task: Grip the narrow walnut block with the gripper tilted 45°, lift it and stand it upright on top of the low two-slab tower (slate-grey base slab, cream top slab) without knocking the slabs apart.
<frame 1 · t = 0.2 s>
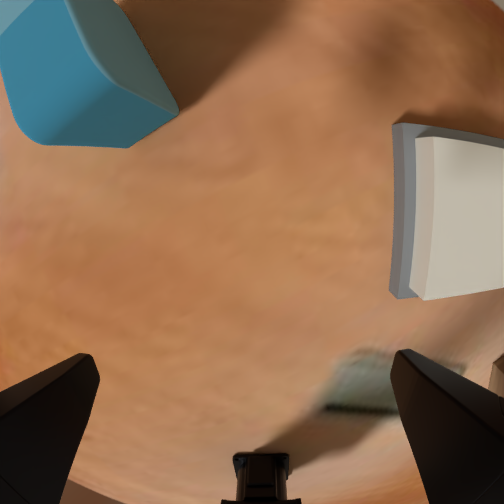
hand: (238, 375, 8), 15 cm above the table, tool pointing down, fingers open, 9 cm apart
tower top slab: (469, 215, 19), point 2 cm above the table
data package: (126, 73, 18), on the table
tower base slab: (453, 208, 21), on the table
walnut block: (503, 367, 26), on the table
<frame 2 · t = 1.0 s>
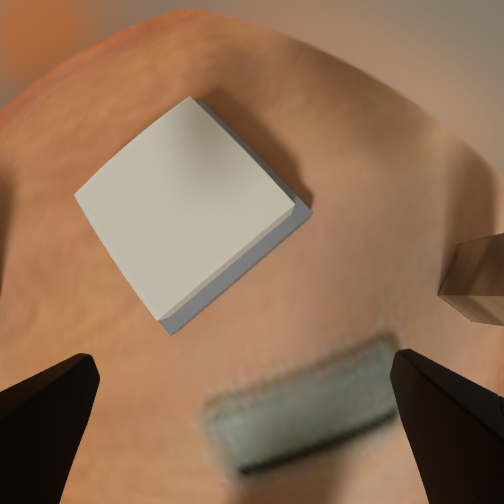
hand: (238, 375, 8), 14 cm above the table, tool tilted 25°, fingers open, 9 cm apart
tower top slab: (180, 206, 21), point 2 cm above the table, touching tower base slab
tower base slab: (189, 213, 23), on the table, touching tower top slab
walnut block: (466, 283, 21), on the table
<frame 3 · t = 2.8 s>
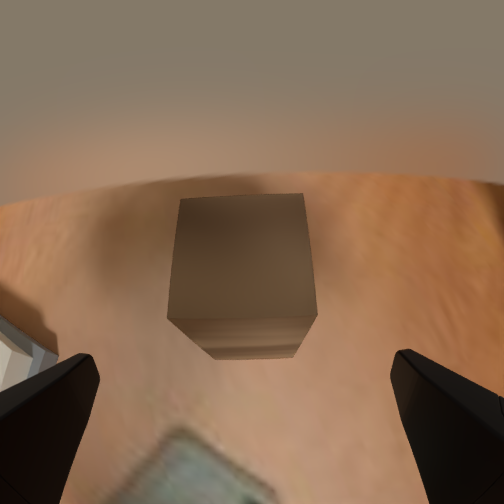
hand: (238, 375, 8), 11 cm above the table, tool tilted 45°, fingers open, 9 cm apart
tower base slab: (0, 388, 17), on the table, touching tower top slab
walnut block: (252, 322, 20), on the table
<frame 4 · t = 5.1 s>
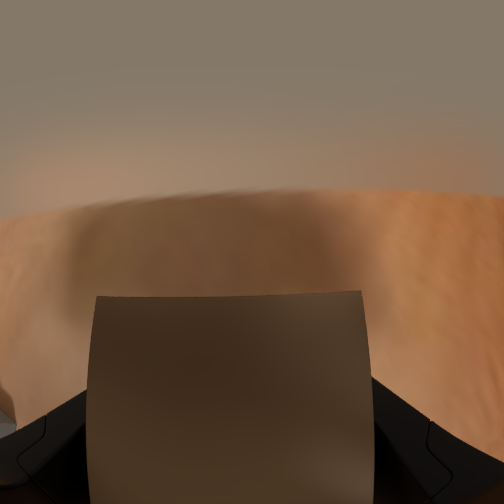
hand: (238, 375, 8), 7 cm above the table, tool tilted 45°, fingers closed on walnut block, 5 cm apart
walnut block: (251, 412, 13), on the table, touching gripper
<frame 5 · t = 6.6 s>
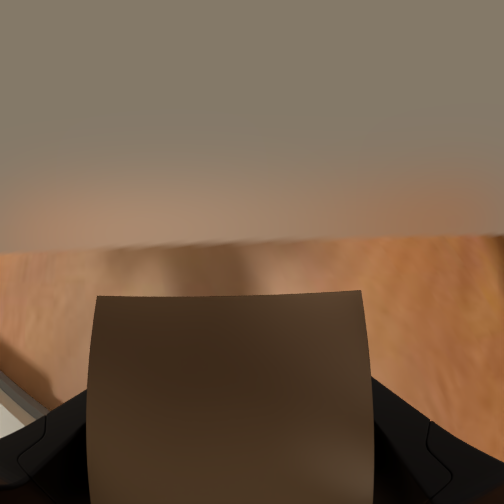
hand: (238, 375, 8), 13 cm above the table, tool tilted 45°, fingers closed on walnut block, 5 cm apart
tower base slab: (14, 444, 17), on the table, touching tower top slab
walnut block: (251, 412, 13), point 7 cm above the table, touching gripper
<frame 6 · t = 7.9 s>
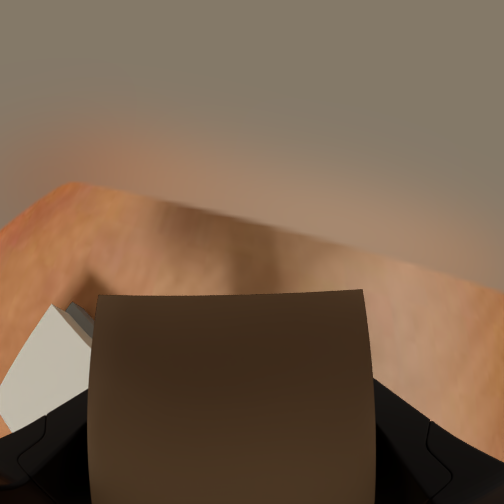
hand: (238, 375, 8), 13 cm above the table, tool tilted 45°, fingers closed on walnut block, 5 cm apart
tower top slab: (73, 408, 17), point 2 cm above the table, touching tower base slab
tower base slab: (91, 414, 19), on the table, touching tower top slab
walnut block: (251, 411, 13), point 7 cm above the table, touching gripper
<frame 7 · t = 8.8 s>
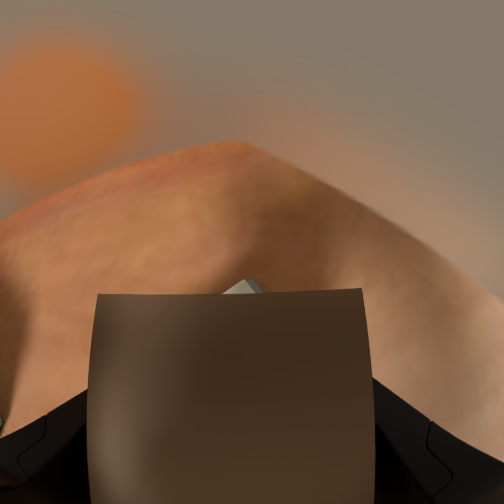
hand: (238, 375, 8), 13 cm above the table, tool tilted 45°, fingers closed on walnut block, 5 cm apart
walnut block: (251, 411, 13), point 7 cm above the table, touching gripper
when the fingers open (13 cm above the table, at t = 10.5 s): walnut block drops 2 cm, resting on tower top slab.
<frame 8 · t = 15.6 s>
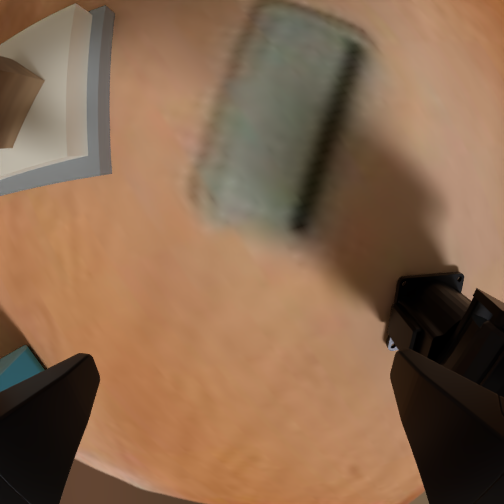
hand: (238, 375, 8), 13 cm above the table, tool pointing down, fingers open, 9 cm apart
tower top slab: (31, 100, 15), point 2 cm above the table, touching tower base slab, walnut block
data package: (21, 367, 25), on the table
tower base slab: (49, 107, 18), on the table, touching tower top slab
walnut block: (10, 101, 13), point 4 cm above the table, touching tower top slab
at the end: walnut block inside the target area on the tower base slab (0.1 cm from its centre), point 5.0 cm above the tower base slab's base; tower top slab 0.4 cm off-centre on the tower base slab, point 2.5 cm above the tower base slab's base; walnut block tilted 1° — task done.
